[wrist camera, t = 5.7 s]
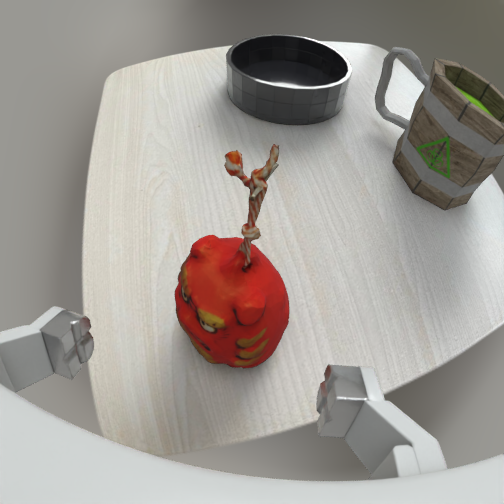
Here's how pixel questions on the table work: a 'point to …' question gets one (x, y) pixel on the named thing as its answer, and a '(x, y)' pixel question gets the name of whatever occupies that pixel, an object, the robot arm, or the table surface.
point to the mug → (446, 130)
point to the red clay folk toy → (234, 287)
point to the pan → (287, 78)
